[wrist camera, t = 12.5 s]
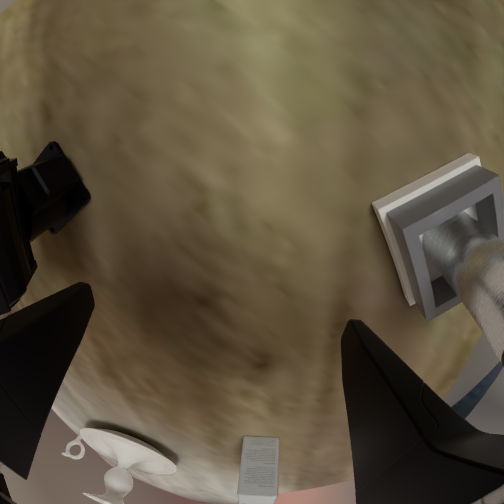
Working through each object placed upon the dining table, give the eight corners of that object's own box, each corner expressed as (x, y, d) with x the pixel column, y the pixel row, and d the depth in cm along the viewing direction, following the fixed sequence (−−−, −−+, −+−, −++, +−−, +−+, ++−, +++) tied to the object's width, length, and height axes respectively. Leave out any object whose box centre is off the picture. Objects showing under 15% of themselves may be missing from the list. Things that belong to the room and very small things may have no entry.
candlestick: (53, 398, 40) (4, 507, 16) (167, 431, 39) (132, 576, 14) (93, 444, 50) (62, 532, 25) (188, 469, 49) (169, 573, 24)
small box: (275, 454, 41) (273, 506, 32) (242, 452, 41) (237, 504, 32) (280, 436, 37) (278, 497, 28) (243, 434, 37) (236, 495, 28)
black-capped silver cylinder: (417, 264, 21) (492, 385, 10) (428, 205, 18) (537, 311, 7) (462, 262, 20) (540, 364, 9) (475, 207, 18) (578, 297, 7)
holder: (404, 296, 24) (422, 328, 20) (371, 203, 20) (393, 226, 16) (486, 249, 21) (511, 273, 17) (468, 152, 17) (502, 166, 13)
